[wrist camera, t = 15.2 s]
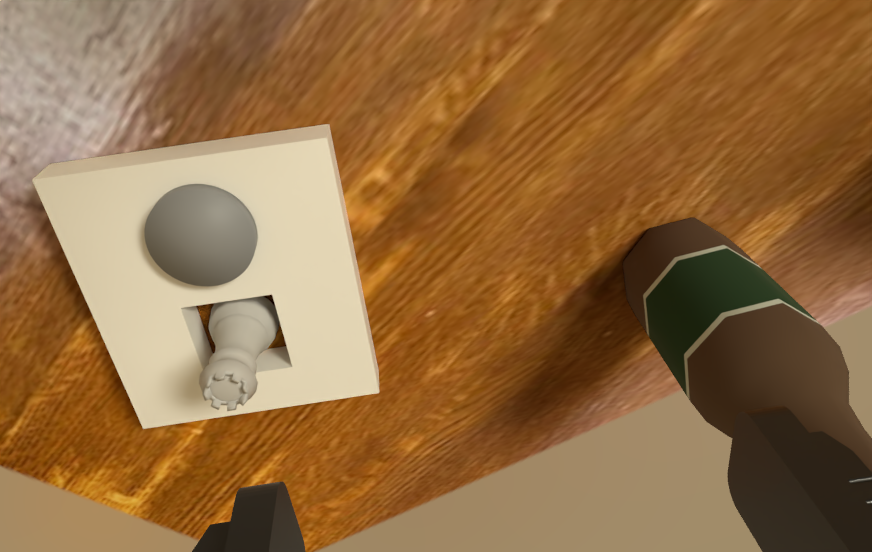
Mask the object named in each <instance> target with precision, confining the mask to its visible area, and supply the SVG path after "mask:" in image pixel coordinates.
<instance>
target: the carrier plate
mask: <svg viewBox="0 0 872 552" xmlns="http://www.w3.org/2000/svg"><path fill="white" fill-rule="evenodd" d="M32 181H33V183H34V186H35V188H36V190H37V192H38V195H39V197H40V199H41V201H42V204H43V206H44V208H45V210H46V212H47V215H48V217H49V219H50V221H51V224H52V226H53V228H54V230H55V233H56V235H57V237H58V239H59V242H60V244H61V246H62V248H63V251H64V253H65V255H66V257H67V259H68V262H69V264H70V266H71V268H72V271H73V273H74V275H75V277H76V280H77V282H78V284H79V286H80V289H81V291H82V293H83V295H84V297H85V300H86V302H87V304H88V306H89V309H90V311H91V313H92V315H93V318H94V320H95V322H96V324H97V327H98V329H99V331H100V333H101V336H102V338H103V340H104V342H105V344H106V347H107V349H108V351H109V353H110V356H111V358H112V360H113V362H114V365H115V367H116V369H117V371H118V374H119V376H120V378H121V380H122V382H123V385H124V387H125V389H126V391H127V394H128V396H129V398H130V400H131V403H132V405H133V407H134V409H135V412H136V414H137V416H138V418H139V421H140V423H141V425H142V427H143V429H146V428H152V427H159V426H165V425H172V424H178V423H185V422H192V421H198V420H205V419H211V418H218V417H224V416H231V415H237V414H244V413H251V412H257V411H264V410H270V409H277V408H283V407H290V406H296V405H303V404H310V403H316V402H323V401H329V400H336V399H342V398H349V397H355V396H362V395H369V394H375V393H379V370H378V365H377V360H376V355H375V350H374V345H373V340H372V335H371V330H370V325H369V320H368V315H367V310H366V305H365V300H364V295H363V290H362V286H361V281H360V276H359V271H358V266H357V261H356V256H355V251H354V246H353V241H352V236H351V231H350V226H349V221H348V216H347V211H346V206H345V201H344V196H343V191H342V186H341V181H340V176H339V171H338V166H337V161H336V156H335V151H334V146H333V141H332V136H331V131H330V126H329V124H325V125H318V126H311V127H304V128H297V129H290V130H283V131H276V132H269V133H262V134H255V135H248V136H241V137H234V138H227V139H220V140H213V141H206V142H199V143H192V144H185V145H178V146H171V147H164V148H157V149H150V150H143V151H136V152H129V153H122V154H115V155H108V156H101V157H94V158H87V159H80V160H73V161H66V162H59V163H52V164H50V165H48V166H47V167H46V168H45V169H44V170H43V171H42V172H40V173H39V174H38V175H37V176H36V177H35V178H34V179H32ZM266 295H272V296H273V300H274V303H275V307H276V310H277V314H278V317H279V321H280V325H281V328H282V332H283V335H284V339H285V342H286V346H284V347H278V348H271V349H266V350H265V351H263V352H262V353H261V354H259V355H258V357H257V359H256V364H257V371H256V375H255V376H256V379H257V382H258V385H257V390H256V392H255V394H254V395H253V396H252V397H251V399H249V400H247V402H246V403H245V404H244V405H243V406H242V405H241V404H237V408H236V410H232V411H227V406H226V405H220V408H219V410H217V409H215V408H213V407H211V403H212V401H211V400H210V399H209V400H206V401H205V400H204V397H203V395H202V393H203V392H202V390H201V388H200V385H199V377H200V373H201V372H202V371H203V369H204V368H205V367H206V366H208V363H209V359H210V357H211V356H212V355H213V352H212V350H211V347H210V344H209V341H208V338H207V335H206V333H205V330H204V327H203V324H202V321H201V318H200V315H199V313H198V310H197V307H196V306H198V305H205V304H212V303H218V302H225V301H232V300H239V299H245V298H252V297H259V296H266Z"/></svg>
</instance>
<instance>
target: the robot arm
mask: <svg viewBox="0 0 872 552" xmlns="http://www.w3.org/2000/svg"><path fill="white" fill-rule="evenodd" d="M728 484H729V489H730V493H731V496H732V499H733V501H734V504H735V506H736V508H737V510H738V512H739V513H740V515H741V517H742V518H743V520H744V522H745V523H746V525H747V527H748V528H749V530H750V532H751V533H752V535H753V536H754V538H755V539H756V541H757V543H758V545H759V546H760V548H761V550H762V551H763V552H872V472H871V471H870V470H869V468H868V467H867V466H866V465H865V464H864V463H863V462H862V460H861V459H860V458H859V457H858V456H857V455H856V454H855V452H854V451H853V450H851V449H850V448H848V447H847V446H845V445H843V444H842V443H840V442H839V441H837V440H836V439H834V438H833V437H831V436H829V435H828V434H826V433H825V432H823V431H818V432H812V433H809V432H808V431H807V429H806V428H805V427H804V426H803V425H802V423H801V422H800V421H799V420H798V419H797V417H796V416H795V415H794V414H793V413H792V411H791V410H789V409H788V408H787V407H785V406H777V407H770V408H764V409H757V410H751V411H744V412H740V413H738V414H737V416H736V419H735V424H734V432H733V439H732V447H731V453H730V460H729V467H728ZM192 552H305V546H304V541H303V537H302V534H301V531H300V528H299V525H298V522H297V518H296V515H295V512H294V509H293V506H292V503H291V500H290V497H289V494H288V491H287V488H286V485H285V484H284V482H276V483H270V484H263V485H257V486H251V487H244V488H240V489H239V490H238V492H237V494H236V498H235V502H234V507H233V512H232V517H231V521H230V522H224V523H218V524H212V525H210V526H209V527H208V529H207V530H206V532H205V533H204V535H203V536H202V538H201V539H200V541H199V542H198V544H197V545H196V547H195V548H194V549H193V551H192Z"/></svg>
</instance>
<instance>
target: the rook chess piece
mask: <svg viewBox="0 0 872 552" xmlns="http://www.w3.org/2000/svg"><path fill="white" fill-rule="evenodd" d="M279 322H280V321H279V317H278V314H277V310H276V308H275V306H274V305H273V304H272V303H271V302H270V301H269V299H267V298H265V297H263V296H259V297H252V298H245V299H239V300H232V301H225V302H218V303H215V304H214V306H213V307H212V309H211V316H210V320H209V332H210V335H211V337H212V340H213V342H214V343H215V346H216V348H215V353H213V355H212V356H211V357H210V359H209V363H208V366H206V367H205V368H204V369H203V371H202V372H201V373H200V377H199V385H200V388H201V390H202V392H203V393H202V395H203V397H204V400H205V401H206V400H209V399H210V400H211V401H212V403H211V407H213V408H215V409H217V410H219V408H220V405H226V406H227V411H232V410H236V408H237V404H241V405H242V406H243V405H244V404H245V403H246V402H247V400H249V399H251V397H252V396H253V395H254V394H255V392H256V390H257V385H258V382H257V379H256V376H255V375H256V371H257V364H256V359H257V357H258V355H259V354H261V353H262V352H263V351H265V350H266V349H267V348H268V347H269V346H270V344H271V343H272V342H273V341H274V339H275V338H276V333H277V331H278V328H279Z"/></svg>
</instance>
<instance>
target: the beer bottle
mask: <svg viewBox="0 0 872 552" xmlns="http://www.w3.org/2000/svg"><path fill="white" fill-rule="evenodd" d="M623 271H624V280H625V288H626V297H627V300H628V302H629V304H630V306H631V308H632V310H633V312H634V314H635V316H636V317H637V319H638V320H639V322H640V323H641V325H642V326H643V328H644V330H645V331H646V333H647V334H648V336H649V337H650V339H651V341H652V342H653V344H654V345H655V347H656V348H657V350H658V352H659V353H660V355H661V356H662V358H663V359H664V361H665V362H666V364H667V366H668V367H669V369H670V370H671V372H672V373H673V375H674V377H675V378H676V380H677V381H678V383H679V384H680V386H681V388H682V389H683V391H684V392H685V394H686V395H687V397H688V398H689V400H690V401H691V403H692V404H693V405H694V406H695V408H696V409H697V410H698V411H699V413H700V414H701V415H702V416H703V418H704V419H705V420H706V421H707V422H708V423H710V424H711V425H712V426H714V427H715V428H717V429H718V430H720V431H722V432H723V433H725V434H726V435H727V436H729V437H731V438H733V432H734V424H735V419H736V416H737V414H738V413H740V412H744V411H751V410H757V409H764V408H770V407H777V406H785V407H787V408H788V409H789V410H791V411H792V413H793V414H794V415H795V416H796V417H797V419H798V420H799V421H800V422H801V423H802V425H803V426H804V427H805V428H806V429H807V431H808V432H809V433H812V432H818V431H823V432H825V433H826V434H828V435H829V436H831V437H833V438H834V439H836V440H837V441H839V442H840V443H842V444H843V445H845V446H847V447H848V448H850V449H851V450H853V451H854V452H855V454H856V455H857V456H858V457H859V458H860V459H861V460H862V462H863V463H864V464H865V465H866V466H867V467H868V468H869V470H870V471H871V472H872V438H871V437H870V436H869V434H868V433H867V432H866V431H865V430H864V428H863V426H862V425H861V423H860V421H859V420H858V418H857V416H856V415H855V413H854V411H853V410H852V408H851V406H850V405H849V371H848V368H847V365H846V363H845V360H844V357H843V354H842V351H841V349H840V346H839V345H838V344H837V343H836V342H835V341H834V340H833V339H832V337H831V336H830V335H829V334H828V333H827V331H826V330H825V329H824V328H823V327H822V326H821V325H820V324H819V323H818V322H817V321H816V320H815V319H814V318H813V317H812V316H811V315H810V314H809V313H808V312H807V311H806V310H805V309H804V308H803V307H802V306H801V305H799V304H798V303H797V302H796V301H795V300H794V299H793V298H792V297H791V296H790V295H789V294H788V293H787V292H786V291H785V290H784V289H783V288H782V287H781V286H779V285H778V284H777V283H776V282H775V281H774V280H773V279H772V278H771V277H770V276H769V275H768V274H767V273H766V272H765V271H764V270H763V269H762V268H761V267H760V266H758V265H757V264H756V263H755V262H754V261H753V260H752V259H751V258H750V257H749V256H748V255H747V254H746V253H745V252H744V251H743V250H742V249H741V248H739V247H738V246H737V245H736V244H734V243H733V242H732V241H731V240H729V239H728V238H727V237H725V236H724V235H722V234H720V233H719V232H717V231H716V230H714V229H712V228H711V227H709V226H707V225H706V224H704V223H702V222H701V221H699V220H697V219H696V218H688V219H684V220H680V221H676V222H672V223H668V224H664V225H661V226H657V227H653V228H649V230H648V231H647V232H646V233H645V235H644V236H643V237H642V238H641V240H640V241H639V242H638V243H637V245H636V246H635V247H634V248H633V249H632V251H631V252H630V253H629V254H628V256H627V257H626V258H625V259H624V261H623Z"/></svg>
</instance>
